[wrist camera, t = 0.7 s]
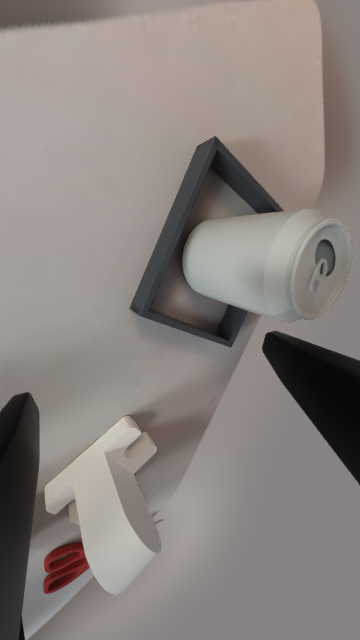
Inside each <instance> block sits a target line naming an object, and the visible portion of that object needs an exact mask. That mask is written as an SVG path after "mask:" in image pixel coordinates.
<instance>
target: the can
mask: <svg viewBox="0 0 360 640" xmlns="http://www.w3.org/2000/svg"><path fill="white" fill-rule="evenodd" d="M352 245H353V244H352V239H351V234H350V231H349V229H348V228H347V226H346V224H345V223H344V222H343V221H341V220H340V219H338V218H327V216H326V215H325V214H324V213H322V212H320V211H319V210H317V209H315V208H313V209H300V210H291V211H281V212H272V213H263V214H253V215H244V216H234V217H225V218H215V219H208V220H206V221H204V222H202V223H200V224H198V225H197V227H196V228H195V229H194V230H193V231H192V232H191V233H190V235H189V237H188V239H187V241H186V243H185V245H184V251H183V256H182V264H183V272H184V275H185V278H186V281H187V283H188V284H189V285H190V286H191V288H192V289H193V290H194V291H196V292H197V293H199V294H201V295H203V296H206V297H209V298H212V299H215V300H218V301H221V302H224V303H227V304H230V305H232V306H235V307H238V308H241V309H244V310H247V311H250V312H253V313H256V314H259V315H262V316H265V317H268V318H271V319H274V320H277V321H280V322H294V321H297V320H299V319H307V320H314V319H316V318H318V317H321V316H323V315H324V314H325V313H326V312H327V311H328V310H330V309H331V308H332V306H333V305H334V304H335V302H336V301H337V300H338V298H339V296H340V294H341V292H342V290H343V289H344V286H345V284H346V281H347V278H348V275H349V272H350V267H351V262H352V249H353V246H352Z"/></svg>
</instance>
